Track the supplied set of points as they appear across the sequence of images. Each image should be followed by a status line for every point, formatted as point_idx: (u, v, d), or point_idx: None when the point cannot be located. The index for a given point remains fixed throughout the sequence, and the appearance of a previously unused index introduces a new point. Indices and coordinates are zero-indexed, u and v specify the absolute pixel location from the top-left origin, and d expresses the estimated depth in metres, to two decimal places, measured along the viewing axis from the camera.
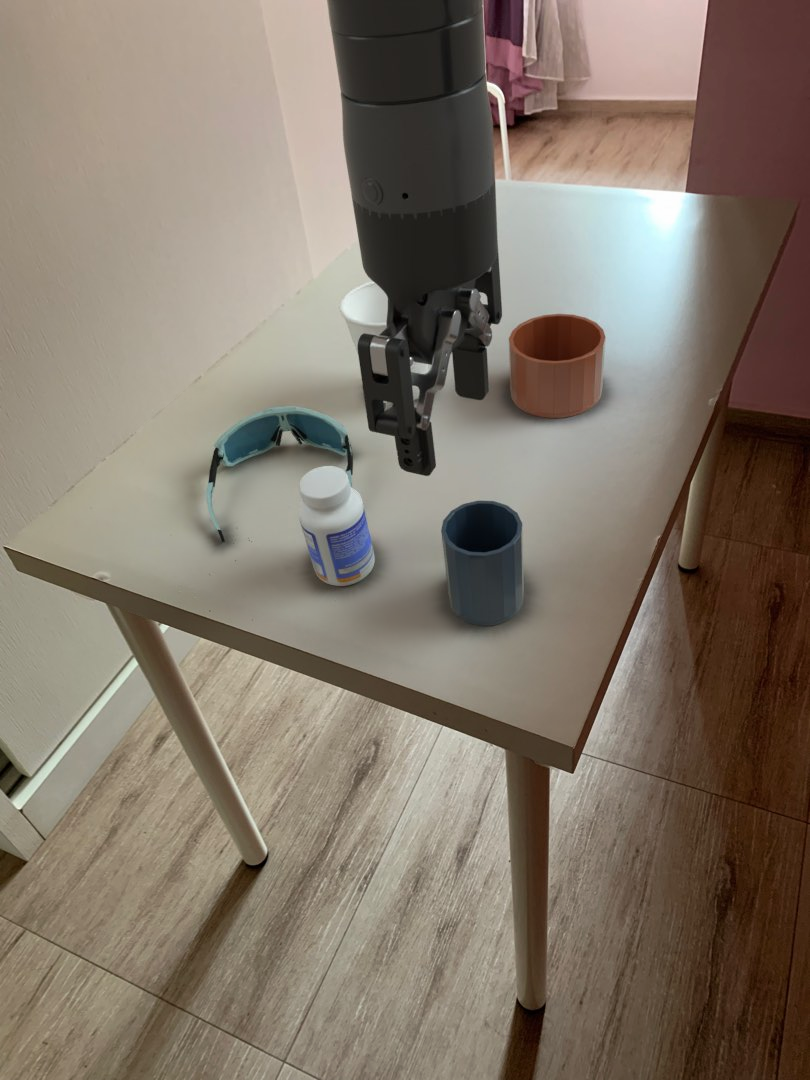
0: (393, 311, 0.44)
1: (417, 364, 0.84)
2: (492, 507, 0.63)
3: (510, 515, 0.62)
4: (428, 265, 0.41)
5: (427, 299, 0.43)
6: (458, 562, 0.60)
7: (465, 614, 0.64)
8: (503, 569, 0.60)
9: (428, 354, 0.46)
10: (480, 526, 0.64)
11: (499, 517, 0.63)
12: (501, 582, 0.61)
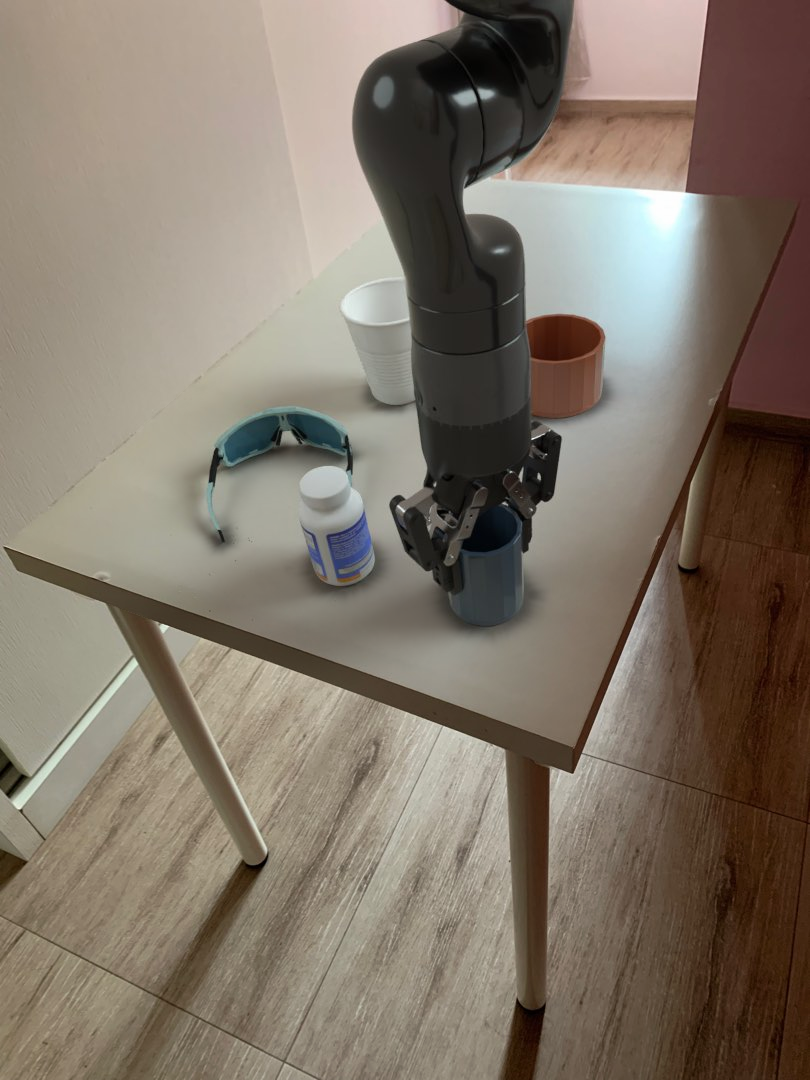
0: (428, 476, 0.55)
1: None
2: None
3: (510, 515, 0.62)
4: (449, 457, 0.52)
5: (453, 476, 0.54)
6: None
7: (465, 614, 0.64)
8: (503, 569, 0.60)
9: (453, 512, 0.57)
10: (480, 526, 0.64)
11: (499, 517, 0.63)
12: (501, 582, 0.61)
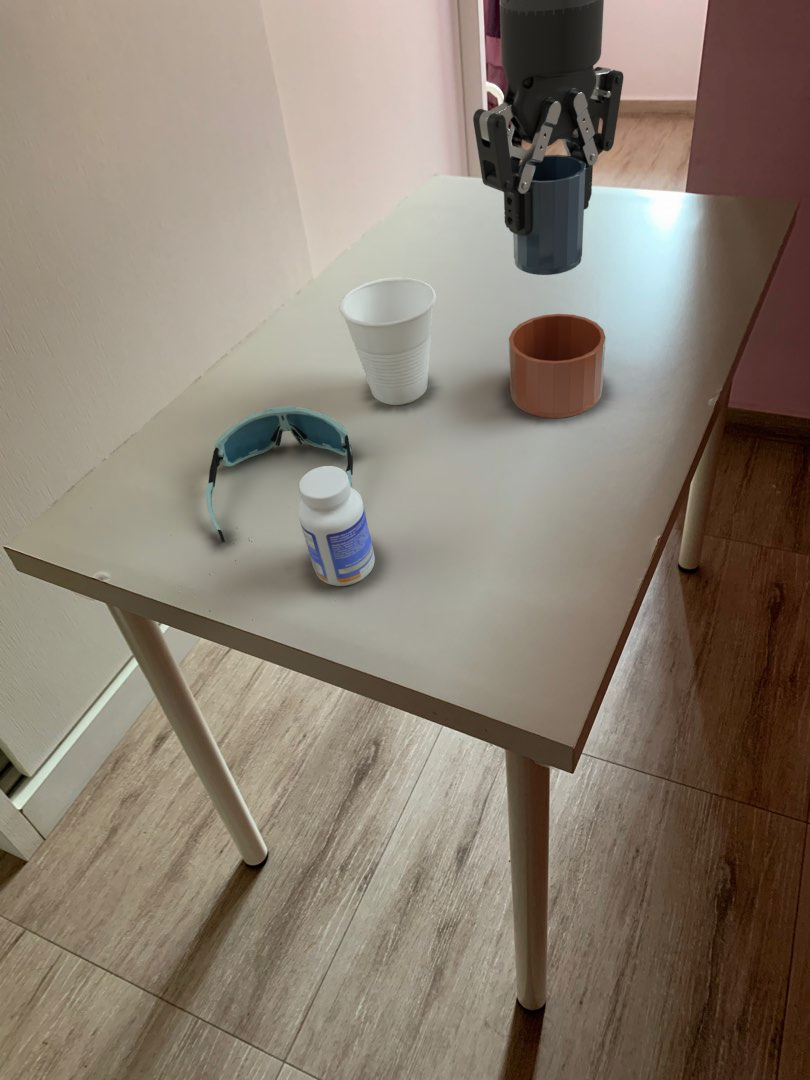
0: (508, 90, 0.62)
1: (417, 364, 0.84)
2: (556, 160, 0.69)
3: (573, 162, 0.68)
4: (531, 54, 0.59)
5: (532, 84, 0.61)
6: None
7: (531, 264, 0.71)
8: (569, 202, 0.67)
9: (529, 132, 0.63)
10: None
11: (562, 171, 0.70)
12: (566, 218, 0.67)
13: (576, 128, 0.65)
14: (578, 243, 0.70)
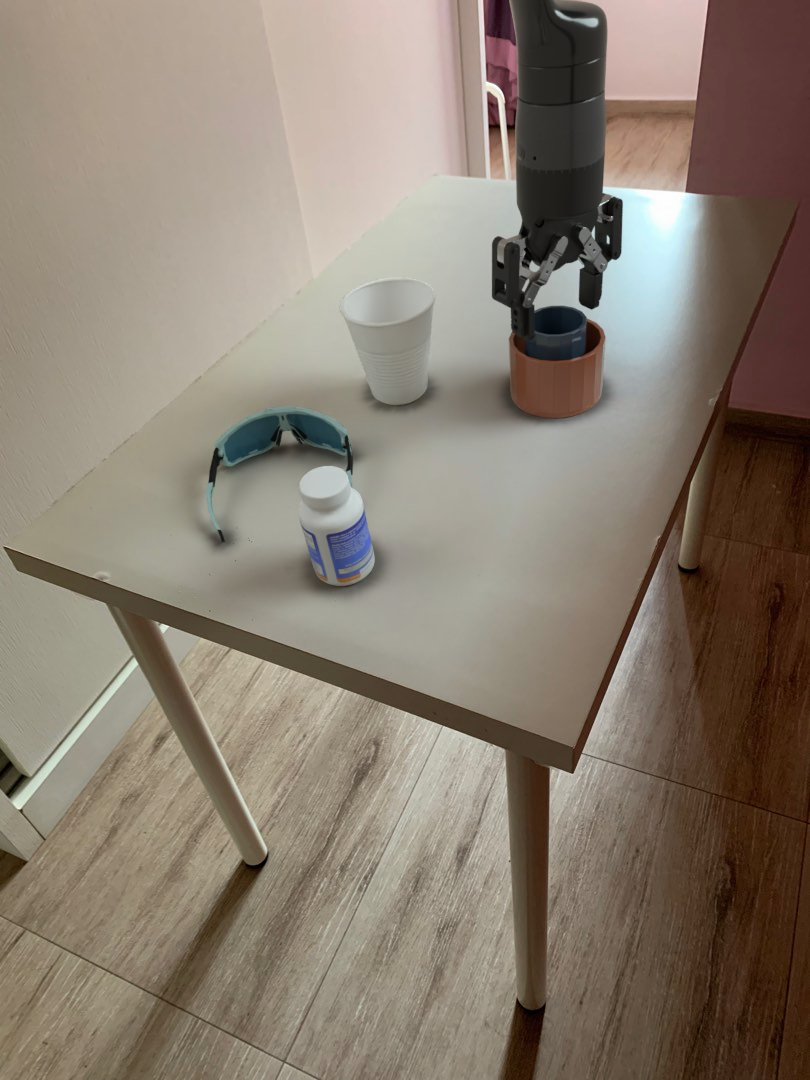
0: (522, 227, 0.72)
1: (417, 364, 0.84)
2: (562, 310, 0.82)
3: (576, 313, 0.81)
4: (543, 202, 0.69)
5: (543, 224, 0.71)
6: (538, 345, 0.79)
7: None
8: (572, 350, 0.79)
9: (540, 260, 0.73)
10: (551, 329, 0.84)
11: (567, 319, 0.82)
12: None
13: (584, 251, 0.76)
14: None
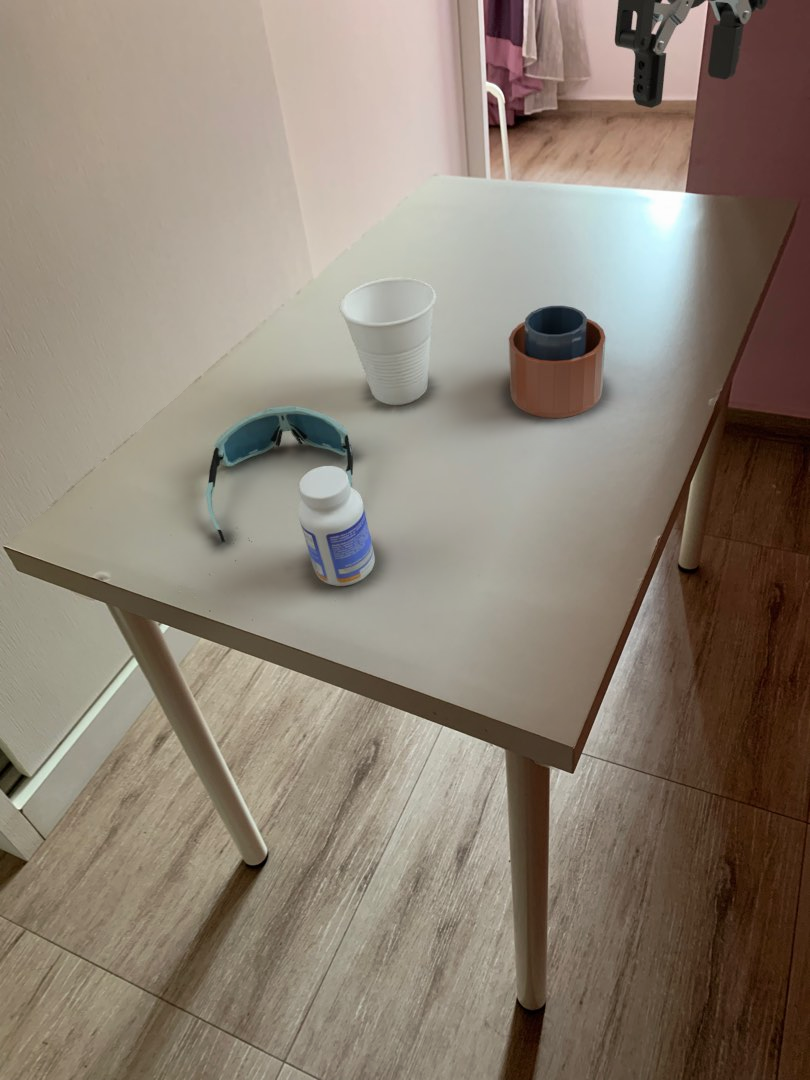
0: None
1: (417, 364, 0.84)
2: (562, 310, 0.82)
3: (576, 313, 0.81)
4: None
5: None
6: (538, 345, 0.79)
7: None
8: (572, 350, 0.79)
9: None
10: (551, 329, 0.84)
11: (567, 319, 0.82)
12: None
13: None
14: None
